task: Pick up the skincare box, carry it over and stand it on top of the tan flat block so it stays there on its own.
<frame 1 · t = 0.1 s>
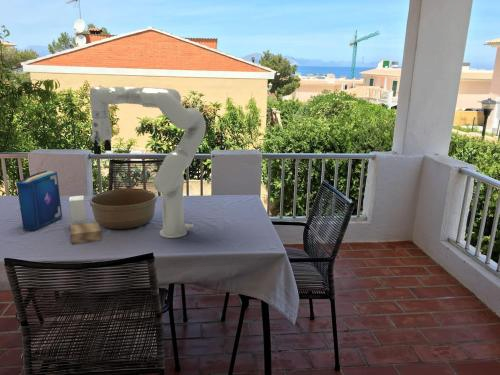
hand: (102, 152, 189), 37 cm above the table, tool pointing down, fingers open, 9 cm apart
book: (42, 224, 201), on the table
skincare box: (79, 229, 197), on the table
tan flat block: (85, 238, 186), on the table
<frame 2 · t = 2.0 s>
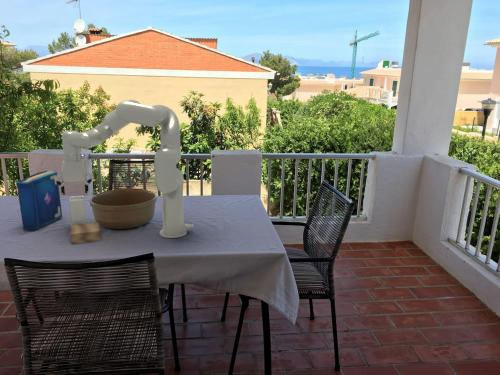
hand: (75, 193, 192), 18 cm above the table, tool pointing down, fingers open, 9 cm apart
nothing on the table moved.
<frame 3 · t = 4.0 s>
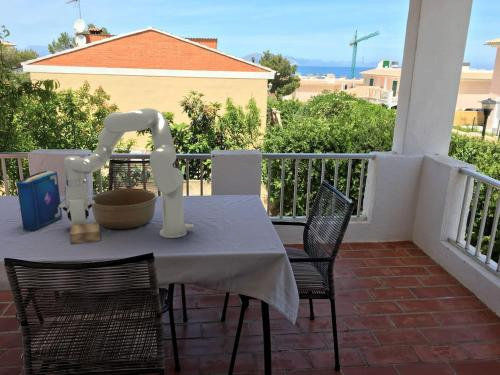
hand: (78, 218, 195), 5 cm above the table, tool pointing down, fingers closed on skincare box, 6 cm apart
skincare box: (79, 229, 197), on the table, touching gripper
everything else where it was.
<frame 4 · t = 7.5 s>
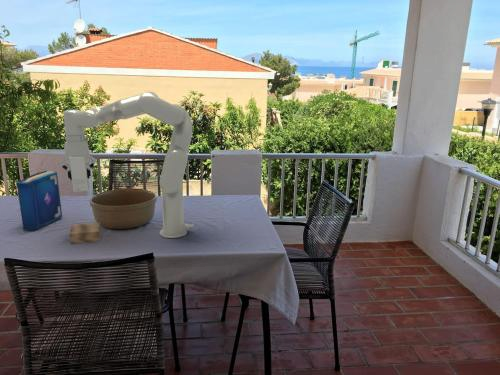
hand: (79, 178, 182), 27 cm above the table, tool pointing down, fingers closed on skincare box, 6 cm apart
skincare box: (80, 190, 183), point 22 cm above the table, touching gripper
everything else where it was.
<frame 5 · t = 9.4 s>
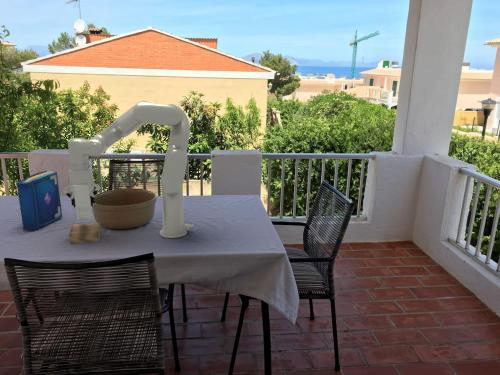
hand: (83, 205, 182), 15 cm above the table, tool pointing down, fingers closed on skincare box, 6 cm apart
skincare box: (84, 217, 184), point 10 cm above the table, touching gripper
everything else where it was.
when the fingers open (11 cm above the table, at t = 11.0 s): skincare box drops 1 cm, point 5 cm above the table.
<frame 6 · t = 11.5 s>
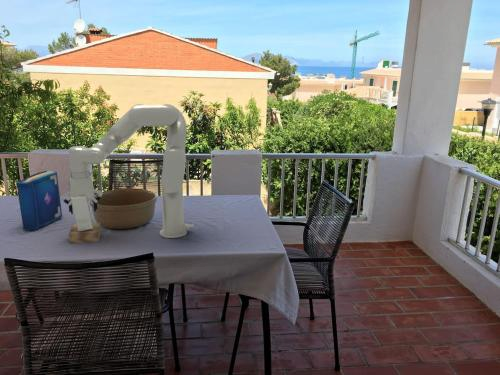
hand: (83, 211, 183), 12 cm above the table, tool pointing down, fingers open, 9 cm apart
skincare box: (85, 228, 185), point 5 cm above the table
everything else where it was.
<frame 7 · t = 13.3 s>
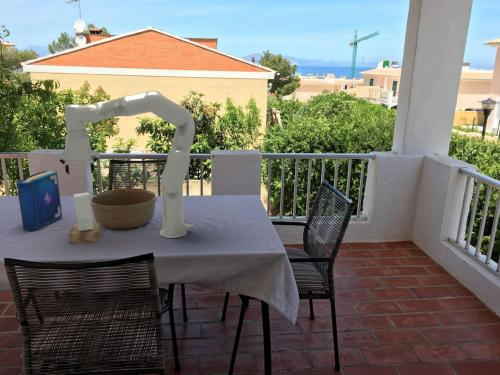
hand: (80, 173, 178), 30 cm above the table, tool pointing down, fingers open, 9 cm apart
skincare box: (85, 228, 185), point 5 cm above the table, touching tan flat block
tan flat block: (86, 238, 186), on the table, touching skincare box
everything else where it was.
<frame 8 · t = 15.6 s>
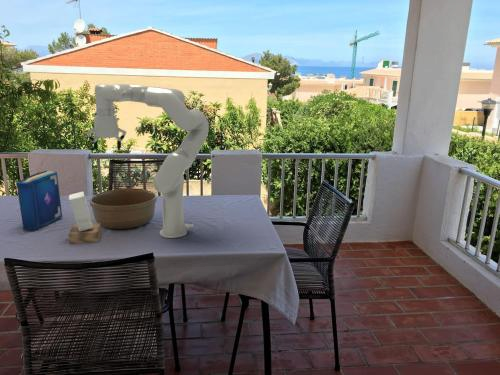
hand: (107, 150, 189), 38 cm above the table, tool pointing down, fingers open, 9 cm apart
at the end: skincare box inside the target area on the tan flat block (0.3 cm from its centre), point 5.4 cm above the tan flat block's base; skincare box tilted 10°; skincare box touching tan flat block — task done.
